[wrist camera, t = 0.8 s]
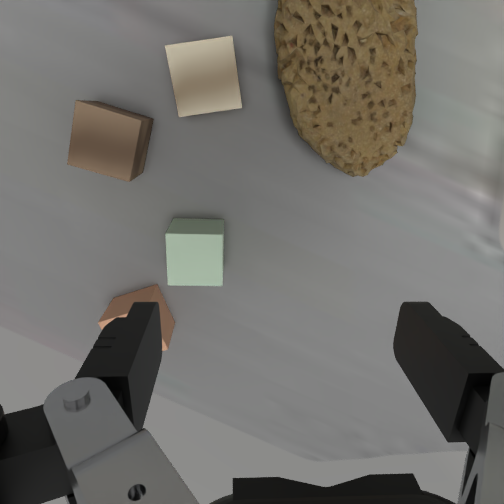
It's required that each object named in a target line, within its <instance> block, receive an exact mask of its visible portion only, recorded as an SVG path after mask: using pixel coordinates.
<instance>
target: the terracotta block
mask: <svg viewBox="0 0 504 504" xmlns="http://www.w3.org/2000/svg"><path fill="white" fill-rule="evenodd" d="M134 302H158V303H159V309H160V321H161V334H162V351H164V350H167V349H168V347H169V343H170V340H171V336H172V332H173V328H174V324H175V322H174V320H173V317H172V315H171V313H170V311H169V309H168V307H167V305H166V302H165V300H164V298H163V296H162V294H161V292H160V289H159V287H158V285H157V284H156V285H153V286H150V287H147V288H144V289H141V290H138V291H134V292H131V293H128V294H125V295H122V296H119V297H116V298H113V300H112V301H111V303H110V304H109V306H108V308H107V309H106V311H105V312H104V314H103V316H102V317H101V319H100V320H99V322H98V323H99V325H100V327H101V329H102V330H103V328H104V326H106V325H107V324H108V323H110V322H111V321H112V320H113V319H115V318H116V317H126V316H127V314H128V312H129V310H130V308H131V306H132V304H133V303H134Z"/></svg>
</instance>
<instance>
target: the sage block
mask: <svg viewBox="0 0 504 504" xmlns="http://www.w3.org/2000/svg"><path fill="white" fill-rule="evenodd" d="M165 235H166V256H167V277H168V285H179V286H222V284H223V266H224V219H185V218H173V220H172V222H171V224H170V226H169V228H168V230H167V232H166V234H165Z"/></svg>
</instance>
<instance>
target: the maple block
mask: <svg viewBox="0 0 504 504" xmlns="http://www.w3.org/2000/svg"><path fill="white" fill-rule="evenodd" d="M165 49H166V54H167V59H168V64H169V69H170V74H171V79H172V84H173V89H174V95H175V100H176V105H177V110H178V115H179V117H184V116H191V115H198V114H204V113H211V112H218V111H225V110H231V109H238V108H242V103H241V96H240V89H239V81H238V74H237V67H236V60H235V52H234V45H233V38H232V36H227V37H220V38H213V39H206V40H200V41H193V42H186V43H179V44H173V45H166V46H165Z"/></svg>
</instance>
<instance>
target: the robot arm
mask: <svg viewBox="0 0 504 504" xmlns="http://www.w3.org/2000/svg"><path fill="white" fill-rule="evenodd" d="M393 349H394V354H395V358H396V360H397V362H398V363H399V365H400V367H401V368H402V370H403V371H404V373H405V375H406V376H407V378H408V379H409V381H410V383H411V384H412V386H413V387H414V389H415V391H416V392H417V394H418V395H419V397H420V399H421V400H422V402H423V403H424V405H425V407H426V408H427V410H428V411H429V413H430V415H431V416H432V418H433V419H434V421H435V423H436V424H437V426H438V427H439V429H440V431H441V432H442V434H443V435H444V437H445V439H446V440H447V442H466V443H467V444H468V446H469V449H468V452H467V455H466V459H465V465H464V470H463V476H462V481H461V487H460V492H459V498H458V503H457V504H504V369H503V368H502V367H501V366H500V365H499V364H498V363H497V362H496V361H495V360H494V359H493V358H492V357H491V356H490V355H489V354H488V353H487V352H486V351H485V350H484V349H483V348H482V347H481V346H479V345H478V343H477V342H476V341H475V340H474V339H473V338H470V335H469V334H468V333H467V332H466V331H465V330H464V329H463V328H462V327H461V326H460V325H458V324H457V323H455V322H453V321H452V320H450V319H448V318H446V317H443V316H442V315H441V314H440V313H439V312H438V311H437V310H436V309H435V308H434V307H433V306H432V305H431V304H430V303H429V302H403V303H402V305H401V307H400V311H399V316H398V321H397V326H396V332H395V337H394V342H393ZM161 357H162V334H161V321H160V309H159V303H158V302H134V303H133V304H132V306H131V308H130V310H129V312H128V314H127V316H126V317H116V318H115V319H113V320H112V321H111V322H110V323H108V324H107V325H106V326H104V328H103V330H102V332H101V333H100V335H99V337H98V340H96V342H95V344H94V346H93V349H91V351H90V353H89V354H88V356H87V358H86V360H85V362H84V363H83V365H82V367H81V369H80V370H79V372H78V374H77V376H76V377H75V379H74V380H71V381H68V382H66V383H64V384H62V385H60V386H58V387H57V388H56V389H54V390H53V391H52V392H51V393H50V394H49V395H48V397H47V398H46V400H45V402H44V404H43V405H40V406H37V407H33V408H30V409H25V410H21V411H17V412H13V413H9V414H4V411H3V408H2V406H1V405H0V504H41V503H44V502H47V501H50V500H53V499H56V498H60V497H63V496H65V498H66V501H67V504H199V503H198V501H197V500H196V498H195V497H194V496H193V494H192V492H191V491H190V490H189V488H188V487H187V485H186V484H185V483H184V481H183V480H182V478H181V477H180V475H179V474H178V472H177V471H176V470H175V468H174V467H173V466H172V464H171V462H170V461H169V460H168V458H167V457H166V455H165V454H164V452H163V451H162V449H161V448H160V447H159V445H158V444H157V442H156V441H155V439H154V438H153V436H152V435H151V434H150V433H149V431H148V430H146V429H145V428H143V424H144V421H145V417H146V413H147V410H148V406H149V403H150V399H151V395H152V392H153V388H154V384H155V381H156V377H157V374H158V370H159V366H160V363H161ZM142 428H143V429H142ZM210 504H455V503H453V502H451V501H450V500H448V499H445V498H443V497H441V496H438V495H435V494H432V493H429V492H426V491H422V490H421V489H420V487H419V485H418V483H417V481H416V479H415V477H414V475H413V474H378V475H377V474H376V475H367V476H364V477H361V478H357V479H354V480H351V481H347V482H344V483H341V484H338V485H334V486H331V487H321V486H316V485H312V484H307V483H303V482H298V481H294V480H289V479H284V478H280V477H261V478H233V494H231V495H228V496H225V497H222V498H220V499H218V500H215V501H214V502H212V503H210Z"/></svg>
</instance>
